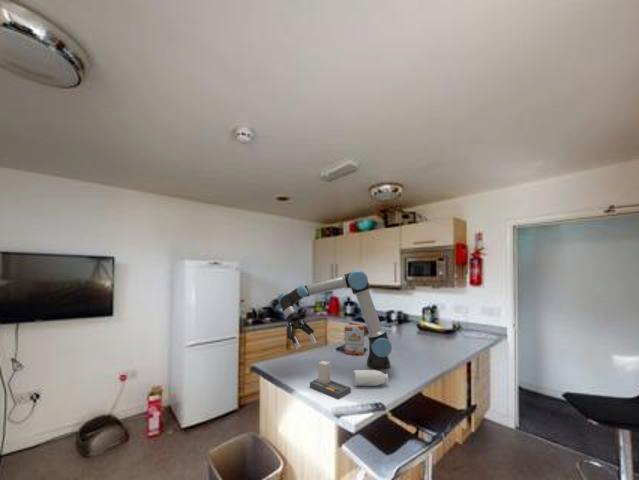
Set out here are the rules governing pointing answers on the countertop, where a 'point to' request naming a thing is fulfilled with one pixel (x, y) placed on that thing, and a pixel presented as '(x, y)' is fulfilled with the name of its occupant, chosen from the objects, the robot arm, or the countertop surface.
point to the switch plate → (331, 388)
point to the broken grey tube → (369, 378)
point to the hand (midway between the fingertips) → (307, 346)
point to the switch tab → (324, 372)
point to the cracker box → (354, 339)
